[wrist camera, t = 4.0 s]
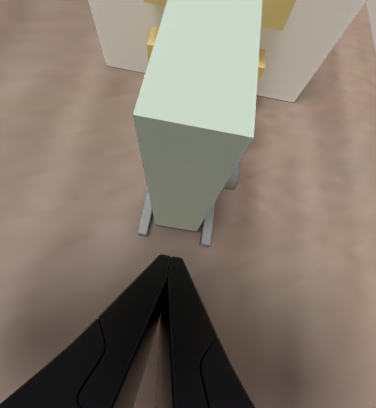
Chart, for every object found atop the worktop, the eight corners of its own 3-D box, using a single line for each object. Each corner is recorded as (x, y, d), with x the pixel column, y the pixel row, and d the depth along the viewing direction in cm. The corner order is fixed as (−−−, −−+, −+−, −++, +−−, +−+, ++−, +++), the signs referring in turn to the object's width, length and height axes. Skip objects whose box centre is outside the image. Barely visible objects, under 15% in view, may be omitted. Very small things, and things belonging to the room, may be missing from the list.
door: (210, 234, 16) (292, 145, 5) (155, 224, 16) (132, 114, 5) (221, 141, 19) (291, -36, 8) (174, 132, 18) (185, -59, 8)
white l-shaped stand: (295, 262, 16) (531, 227, 6) (46, 219, 15) (-199, 92, 5) (292, 21, 25) (380, -160, 15) (136, -12, 25) (114, -225, 14)
